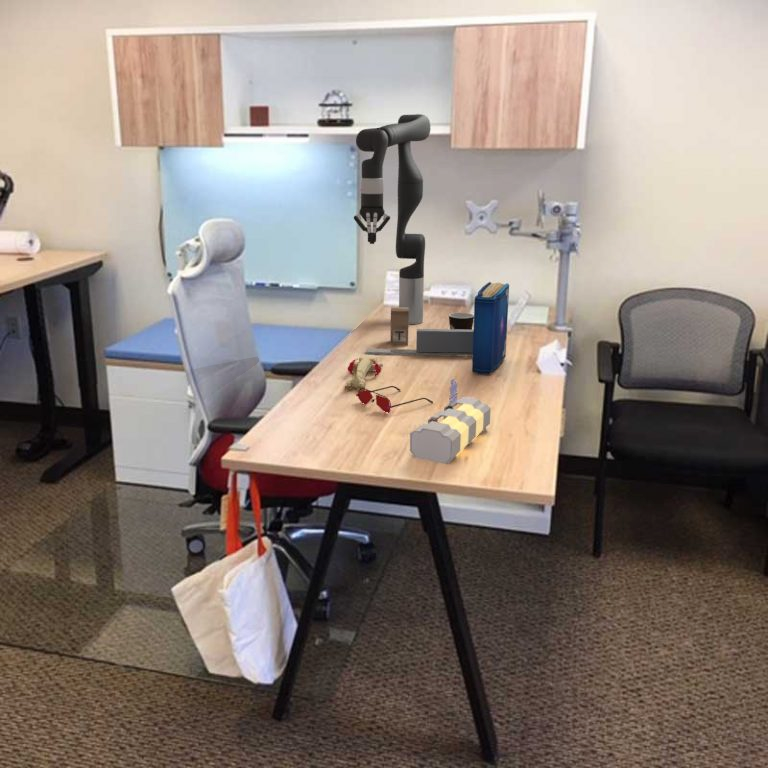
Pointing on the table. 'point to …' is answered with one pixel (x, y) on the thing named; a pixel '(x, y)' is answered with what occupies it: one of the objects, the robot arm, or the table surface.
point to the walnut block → (399, 325)
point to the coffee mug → (461, 321)
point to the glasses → (380, 399)
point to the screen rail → (409, 352)
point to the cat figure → (362, 371)
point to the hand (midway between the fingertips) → (371, 243)
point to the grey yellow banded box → (450, 429)
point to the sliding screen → (444, 340)
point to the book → (490, 327)
